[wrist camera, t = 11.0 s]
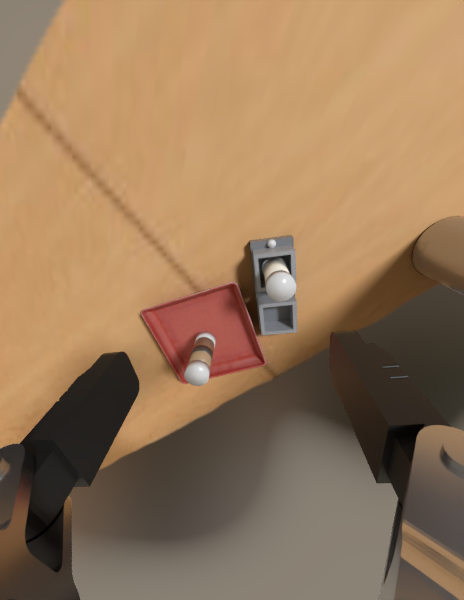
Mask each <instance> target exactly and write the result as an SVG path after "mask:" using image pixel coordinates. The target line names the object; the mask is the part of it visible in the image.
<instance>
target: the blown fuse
mask: <svg viewBox="0 0 464 600" xmlns="http://www.w3.org/2000/svg"><path fill="white" fill-rule="evenodd" d="M215 343H216V338H215V336H214V335H213V334H212V333H210V332H206V331H205V332H201V333H199V334H198V335H197V337H196V340H195V345H194V348H193V350H192V353H191V356H190V360H189V363H188V365H187V367H186V371H185V374H184V377H185V379H186V381H187V382H188V383H190V384H192V385H195V386H201V385H204V384H206V383H207V382H208V380H209V374H210V366H211V362H212V357H213V351H214V348H215Z"/></svg>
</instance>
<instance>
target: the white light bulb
mask: <svg viewBox="0 0 464 600" xmlns="http://www.w3.org/2000/svg"><path fill="white" fill-rule="evenodd" d="M262 271H263V274H264V278H265V282H266V283H265V286H266V291H267V294H268V296H269V297H270V298H271V299H272V300H274V301H278V302H282V301H286V300H288V299H290V298H291V297H292V296H293V295H294V294H295V291H296V283H295V281H294V279H293V277H292V275H291V274H290V273H289V271H288V269H287V267H286V264H285V262H284V260H283V258H282V257H281V256H275V257H267V258H265V259H264V260H263V262H262Z"/></svg>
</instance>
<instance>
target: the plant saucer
mask: <svg viewBox="0 0 464 600" xmlns="http://www.w3.org/2000/svg"><path fill="white" fill-rule="evenodd" d="M141 316H142V317H143V319H144V321H145V323H146V324H147V326H148V327H149V329H150V331H151V332H152V334H153V336H154V338H155V339H156V341H157V343H158V344H159V346H160V348H161V349H162V351H163V353H164V354H165V356H166V358H167V359H168V361H169V363H170V365H171V366H172V368H173V370H174V371H175V373H176V375H177V376H178V378H179V380H180V381H181V382H182V383H183V384H188V382H187V381H186V379H185V377H184V374H185V371H186V367H187V365H188V363H189V360H190V356H191V353H192V350H193V348H194V345H195V340H196V337H197V335H198V334H199V333H201V332H205V331H206V332H210V333H212V334H213V335H214V336H215V338H216V343H215V348H214V351H213V357H212V362H211V366H210V374H209V378H214V377H218V376H222V375H226V374H231V373H235V372H240V371H244V370H248V369H252V368H257V367H261V366H264V365H265V364H266V359H265V356H264V354H263V351H262V348H261V346H260V343H259V340H258V338H257V335H256V332H255V329H254V327H253V324H252V321H251V319H250V316H249V313H248V310H247V308H246V305H245V302H244V299H243V297H242V294H241V291H240V288H239V286H238V284H237V283H236V282H229V283H226V284H223V285H220V286H217V287H214V288H210V289H207V290H204V291H201V292H198V293H195V294H191V295H188V296H185V297H182V298H178V299H175V300H172V301H169V302H166V303H163V304H159V305H156V306H153V307H150V308H146V309H144V310H142V311H141Z"/></svg>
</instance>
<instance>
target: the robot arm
mask: <svg viewBox="0 0 464 600" xmlns="http://www.w3.org/2000/svg"><path fill="white" fill-rule="evenodd" d="M412 260H413V264H414V266H415V268H416V269H417V270H418V272H420V273H421V274H423V275H425V276H427V277H429V278H431V279H433V280H435V281H437V282H439V283H441V284H443V285H445V286H447V287H449V288H451V289H453V290H455V291H457V292H459V293H461V294H463V295H464V217H462V216H455V217H449V218H446V219H443V220H441V221H439V222H437V223H435V224H433V225H432V226H431V227H429V228H428V229H427V230H426V231H425V232H424V233H423V234H422V235H421V236H420V238H419V239H418V241H417V243H416V244H415V247H414V250H413V255H412ZM330 373H331V377H332V381H333V384H334V386H335V388H336V390H337V393H338V395H339V397H340V399H341V402H342V404H343V407H344V409H345V411H346V413H347V416H348V418H349V420H350V423H351V425H352V427H353V429H354V432H355V434H356V436H357V439H358V441H359V443H360V446H361V448H362V450H363V453H364V455H365V457H366V459H367V462H368V464H369V466H370V469H371V471H372V473H373V475H374V478H375V480H376V483H391V484H392V486H393V488H394V490H395V492H396V494H397V496H398V501H397V506H396V511H395V516H394V522H393V527H392V532H391V538H390V543H389V548H388V553H387V559H386V564H385V569H384V575H383V580H382V585H381V590H380V594H379V598H378V600H464V431H461V430H459V429H456V428H453V427H451V426H450V425H449V424H448V422H447V421H446V420H445V419H444V418H443V417H442V415H441V414H440V413H439V412H438V411H437V410H436V408H435V407H434V406H433V405H432V404H431V402H430V401H429V400H428V399H427V398H426V396H425V395H424V394H423V393H422V392H421V391H420V389H419V388H418V387H417V386H416V385H415V383H414V382H413V381H412V380H411V379H410V378H408V375H407V374H406V373H405V372H404V370H403V369H402V368H401V367H399V364H398V363H397V362H396V361H395V360H394V359H393V357H392V356H391V355H390V354H389V353H388V352H387V351H385V350H383V349H382V348H380V347H379V346H377V345H376V344H374V343H372V344H365V343H364V341H363V340H362V339H361V337H360V336H359V335H358V333H357V332H356V331H354V330H352V331H341V332H332V333H331V336H330ZM138 392H139V380H138V377H137V375H136V373H135V371H134V369H133V366H132V364H131V362H130V360H129V358H128V356H127V354H126V353H125V352H115V353H105V354H103V355H101V356H100V358H99V359H98V360H97V361H96V362H95V363H94V365H93V366H92V367H91V368H90V369H89V370H87V371H86V372H85V373H83V374H82V375H81V376H79V377H78V378H77V379H76V380H75V382H74V383H73V384H72V385H71V386H70V387H69V388H68V391H66V392H65V393H64V394H63V395H62V396H61V397H60V400H59V401H57V402H56V403H55V404H54V405H53V407H52V408H51V409H50V410H49V411H48V412H47V413H46V414H45V416H44V417H43V418H42V419H41V420H40V421H39V422H38V424H37V425H36V426H35V427H34V428H33V429H32V430H31V432H30V433H29V434H28V435H27V436H26V437H25V438H24V439H23V441H22V442H21V443H20V444H11V445H8V446H5V447H3V448H0V600H80V596H79V593H78V590H77V588H76V586H75V583H74V580H73V575H72V501H71V498H70V497H69V496H68V495H69V494H70V492H71V490H72V489H73V487H86V486H90V485H91V483H92V481H93V479H94V477H95V475H96V474H97V472H98V470H99V468H100V466H101V464H102V462H103V460H104V458H105V456H106V454H107V453H108V451H109V449H110V447H111V445H112V443H113V441H114V439H115V437H116V435H117V433H118V432H119V430H120V428H121V426H122V424H123V422H124V420H125V418H126V416H127V414H128V412H129V411H130V409H131V407H132V405H133V403H134V401H135V399H136V397H137V395H138Z"/></svg>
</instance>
